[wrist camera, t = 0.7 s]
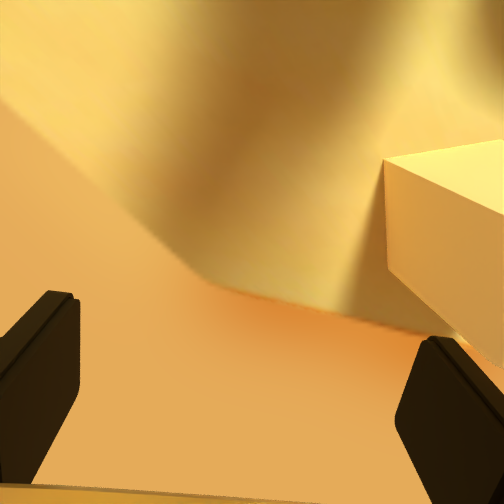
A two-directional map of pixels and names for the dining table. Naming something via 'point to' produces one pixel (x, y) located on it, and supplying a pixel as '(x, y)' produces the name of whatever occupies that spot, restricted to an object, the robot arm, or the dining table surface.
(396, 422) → the robot arm
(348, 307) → the dining table surface
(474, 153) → the milk
